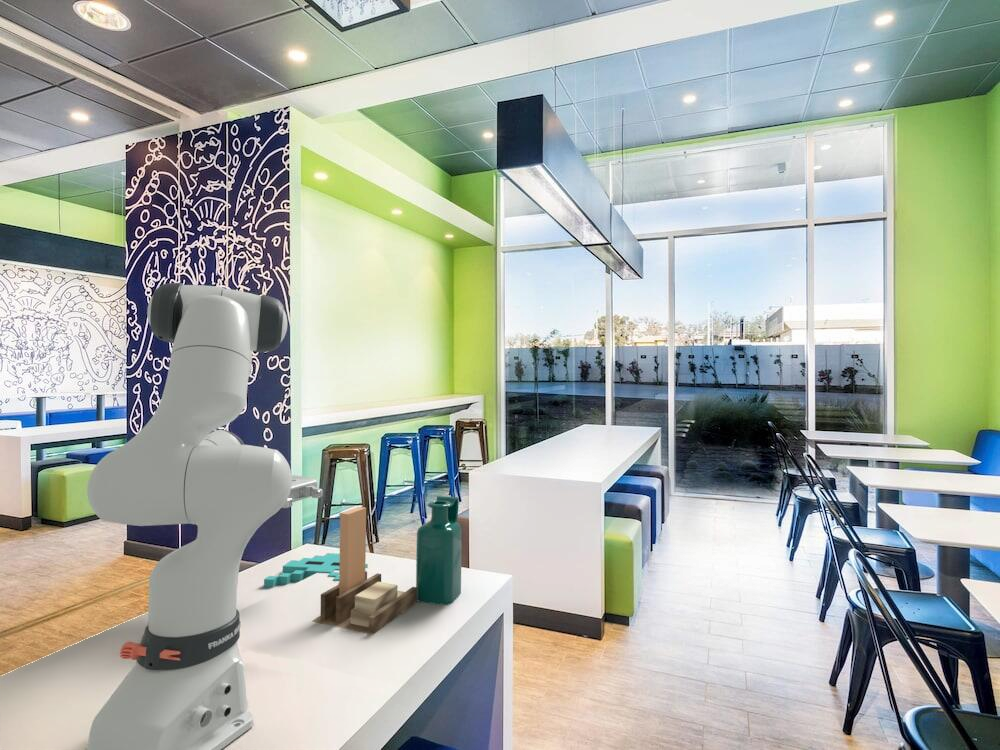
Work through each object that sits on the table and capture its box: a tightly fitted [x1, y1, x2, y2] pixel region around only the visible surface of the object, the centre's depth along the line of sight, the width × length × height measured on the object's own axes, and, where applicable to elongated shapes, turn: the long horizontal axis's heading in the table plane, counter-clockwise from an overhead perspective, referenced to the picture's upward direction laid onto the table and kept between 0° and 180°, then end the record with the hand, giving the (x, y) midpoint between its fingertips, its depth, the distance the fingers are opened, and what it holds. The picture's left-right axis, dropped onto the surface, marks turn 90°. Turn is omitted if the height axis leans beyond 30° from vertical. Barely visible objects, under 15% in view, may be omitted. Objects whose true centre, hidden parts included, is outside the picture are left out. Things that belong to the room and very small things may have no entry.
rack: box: [312, 570, 418, 635], centre depth 113 cm, size 16×14×6 cm
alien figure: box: [263, 552, 369, 588], centre depth 138 cm, size 20×2×20 cm
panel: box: [338, 506, 367, 595], centre depth 114 cm, size 6×2×20 cm, turn 159°
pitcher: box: [415, 495, 463, 606], centre depth 122 cm, size 10×8×22 cm
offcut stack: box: [351, 581, 405, 627], centre depth 112 cm, size 12×5×5 cm, turn 159°
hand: (305, 498), depth 119 cm, fingers open, 8 cm apart
